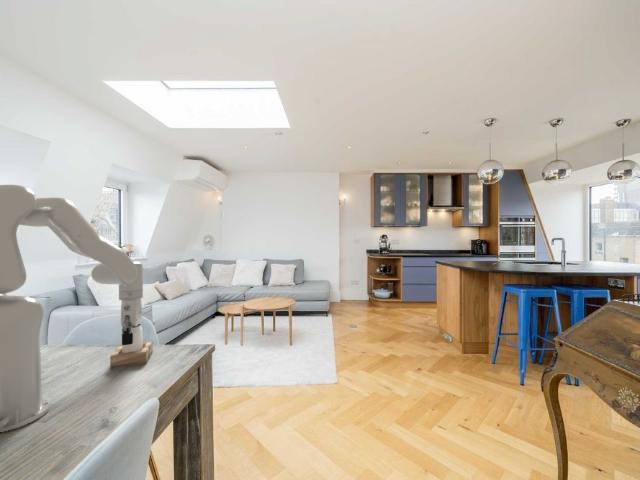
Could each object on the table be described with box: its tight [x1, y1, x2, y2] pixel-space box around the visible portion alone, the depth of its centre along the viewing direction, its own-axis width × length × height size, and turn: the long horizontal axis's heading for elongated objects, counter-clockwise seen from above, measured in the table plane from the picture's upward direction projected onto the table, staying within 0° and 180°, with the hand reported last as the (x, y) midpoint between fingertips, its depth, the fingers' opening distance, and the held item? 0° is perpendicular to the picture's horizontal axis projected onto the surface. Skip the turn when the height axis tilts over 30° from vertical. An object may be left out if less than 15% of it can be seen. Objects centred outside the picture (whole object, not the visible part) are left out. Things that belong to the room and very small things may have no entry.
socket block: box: [109, 341, 154, 370], centre depth 107 cm, size 11×11×4 cm
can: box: [121, 323, 143, 353], centre depth 107 cm, size 6×6×12 cm
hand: (131, 340), depth 106 cm, fingers open, 9 cm apart
